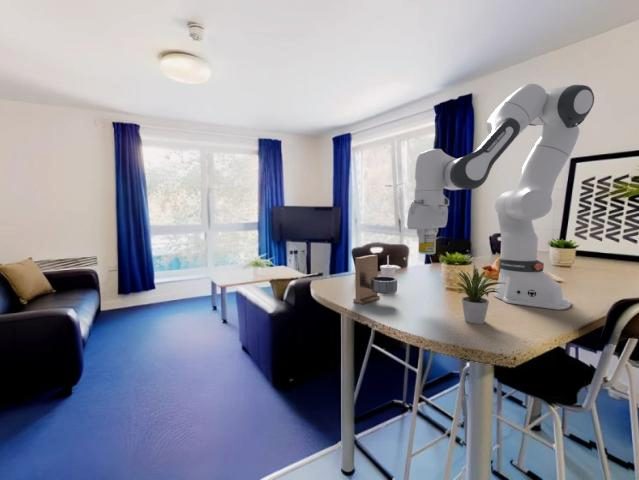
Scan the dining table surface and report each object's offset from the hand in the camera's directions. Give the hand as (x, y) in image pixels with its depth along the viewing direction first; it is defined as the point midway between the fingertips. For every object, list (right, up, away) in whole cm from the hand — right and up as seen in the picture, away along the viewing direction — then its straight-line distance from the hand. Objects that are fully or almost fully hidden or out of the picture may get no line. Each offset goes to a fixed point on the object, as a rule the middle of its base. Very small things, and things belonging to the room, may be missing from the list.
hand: (427, 242), depth 106 cm
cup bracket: (-15, -21, +5) cm, 27 cm away
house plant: (+8, -23, -14) cm, 28 cm away
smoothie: (-8, -20, +24) cm, 32 cm away
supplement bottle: (0, -4, 0) cm, 4 cm away
